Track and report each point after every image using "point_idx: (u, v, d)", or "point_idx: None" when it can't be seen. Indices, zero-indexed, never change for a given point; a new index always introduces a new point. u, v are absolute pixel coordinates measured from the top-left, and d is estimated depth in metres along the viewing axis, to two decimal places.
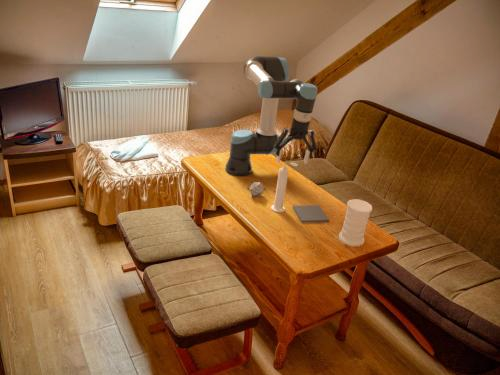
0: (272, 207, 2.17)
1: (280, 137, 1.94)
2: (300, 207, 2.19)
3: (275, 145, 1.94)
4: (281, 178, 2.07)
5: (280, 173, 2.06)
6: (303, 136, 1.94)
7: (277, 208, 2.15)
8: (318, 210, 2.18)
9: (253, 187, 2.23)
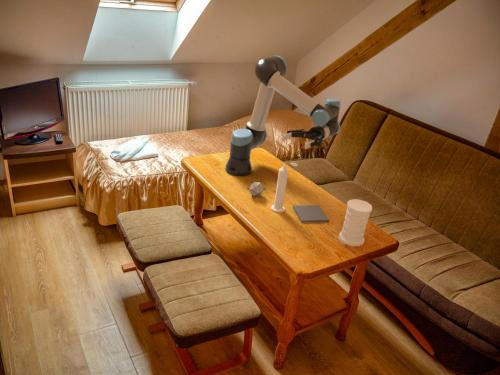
0: (272, 207, 2.17)
1: (322, 141, 2.12)
2: (300, 207, 2.19)
3: (320, 145, 2.09)
4: (281, 178, 2.07)
5: (280, 173, 2.06)
6: None
7: (277, 208, 2.15)
8: (318, 210, 2.18)
9: (253, 187, 2.23)
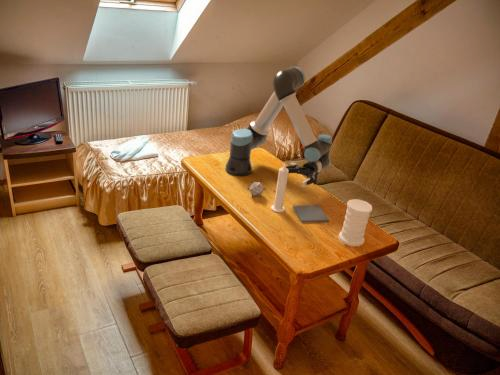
0: (272, 207, 2.17)
1: None
2: (300, 207, 2.19)
3: None
4: (281, 178, 2.07)
5: (280, 173, 2.06)
6: None
7: (277, 208, 2.15)
8: (318, 210, 2.18)
9: (253, 187, 2.23)
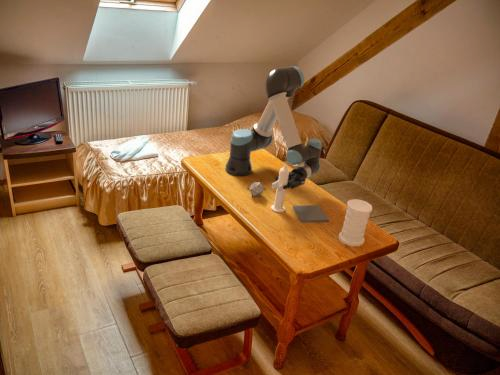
0: (272, 207, 2.17)
1: (298, 184, 2.13)
2: (300, 207, 2.19)
3: (293, 187, 2.11)
4: (282, 178, 2.07)
5: (281, 173, 2.06)
6: None
7: (277, 208, 2.15)
8: (318, 210, 2.18)
9: (253, 187, 2.23)
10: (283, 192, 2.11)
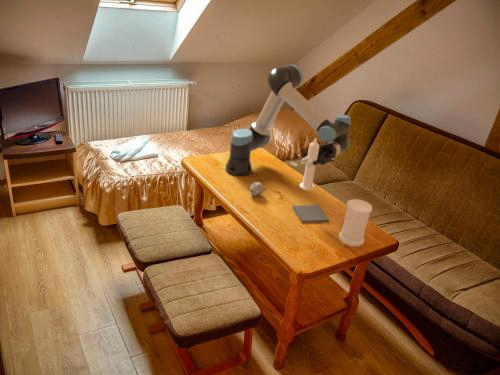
0: (301, 185, 2.08)
1: (328, 160, 2.04)
2: (300, 207, 2.19)
3: (323, 163, 2.02)
4: (311, 153, 1.98)
5: (311, 148, 1.98)
6: None
7: (306, 185, 2.06)
8: (318, 210, 2.18)
9: (253, 187, 2.23)
10: (313, 168, 2.02)
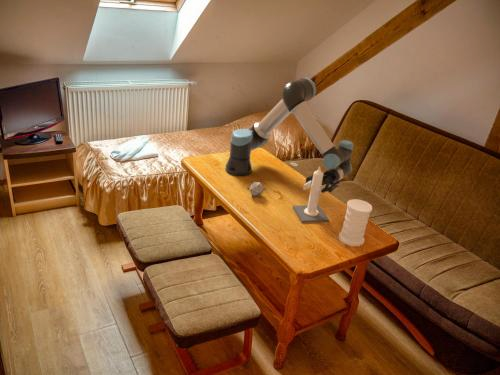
0: (305, 210, 2.15)
1: (334, 186, 2.11)
2: (300, 207, 2.19)
3: (331, 190, 2.08)
4: (316, 181, 2.05)
5: (315, 176, 2.04)
6: None
7: (311, 212, 2.12)
8: (318, 210, 2.18)
9: (253, 187, 2.23)
10: None
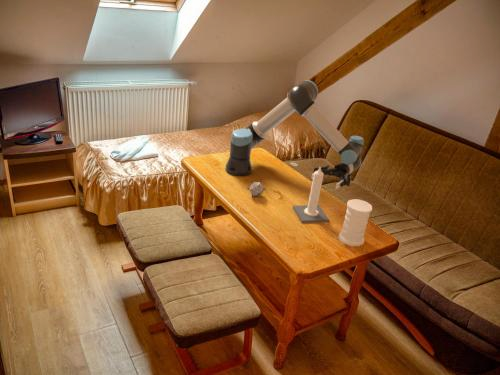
0: (305, 210, 2.15)
1: (349, 179, 2.19)
2: (300, 207, 2.19)
3: (349, 184, 2.16)
4: (316, 181, 2.05)
5: (315, 176, 2.04)
6: None
7: (311, 212, 2.12)
8: (318, 210, 2.18)
9: (253, 187, 2.23)
10: (317, 195, 2.09)
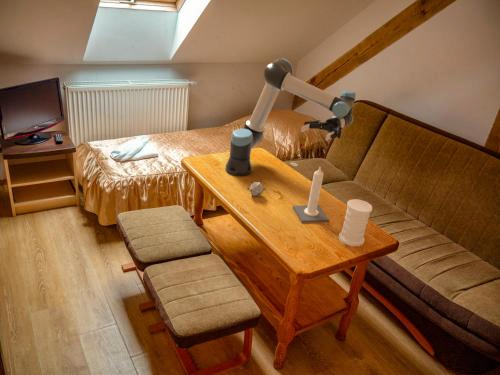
0: (305, 210, 2.15)
1: None
2: (300, 207, 2.19)
3: None
4: (316, 181, 2.05)
5: (315, 176, 2.04)
6: None
7: (311, 212, 2.12)
8: (318, 210, 2.18)
9: (253, 187, 2.23)
10: (317, 195, 2.09)
